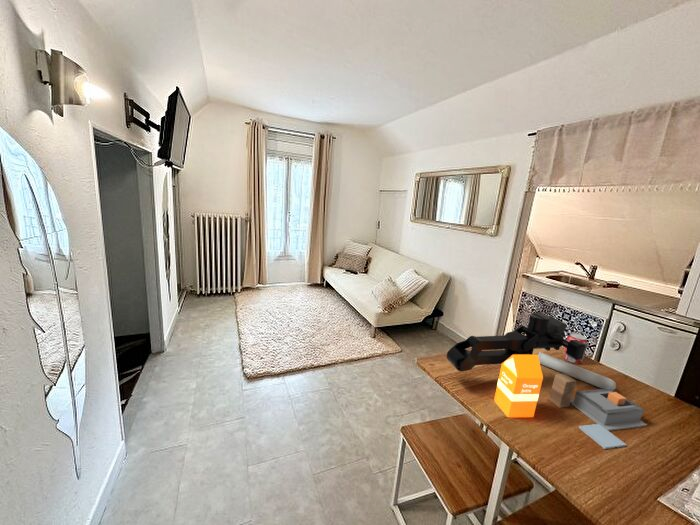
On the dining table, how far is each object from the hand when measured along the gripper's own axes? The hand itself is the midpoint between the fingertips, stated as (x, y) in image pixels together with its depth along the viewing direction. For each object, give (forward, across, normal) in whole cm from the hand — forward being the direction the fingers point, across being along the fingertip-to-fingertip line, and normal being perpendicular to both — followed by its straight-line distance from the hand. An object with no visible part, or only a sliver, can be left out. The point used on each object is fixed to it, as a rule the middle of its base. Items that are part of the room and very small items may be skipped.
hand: (575, 339), depth 108 cm
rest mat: (-17, -27, +17) cm, 36 cm away
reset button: (-2, -19, +13) cm, 23 cm away
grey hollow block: (-5, -19, +17) cm, 26 cm away
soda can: (+15, +10, +17) cm, 24 cm away
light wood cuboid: (-17, -13, +17) cm, 27 cm away
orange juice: (-36, -14, +17) cm, 42 cm away
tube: (+4, 0, +17) cm, 17 cm away
